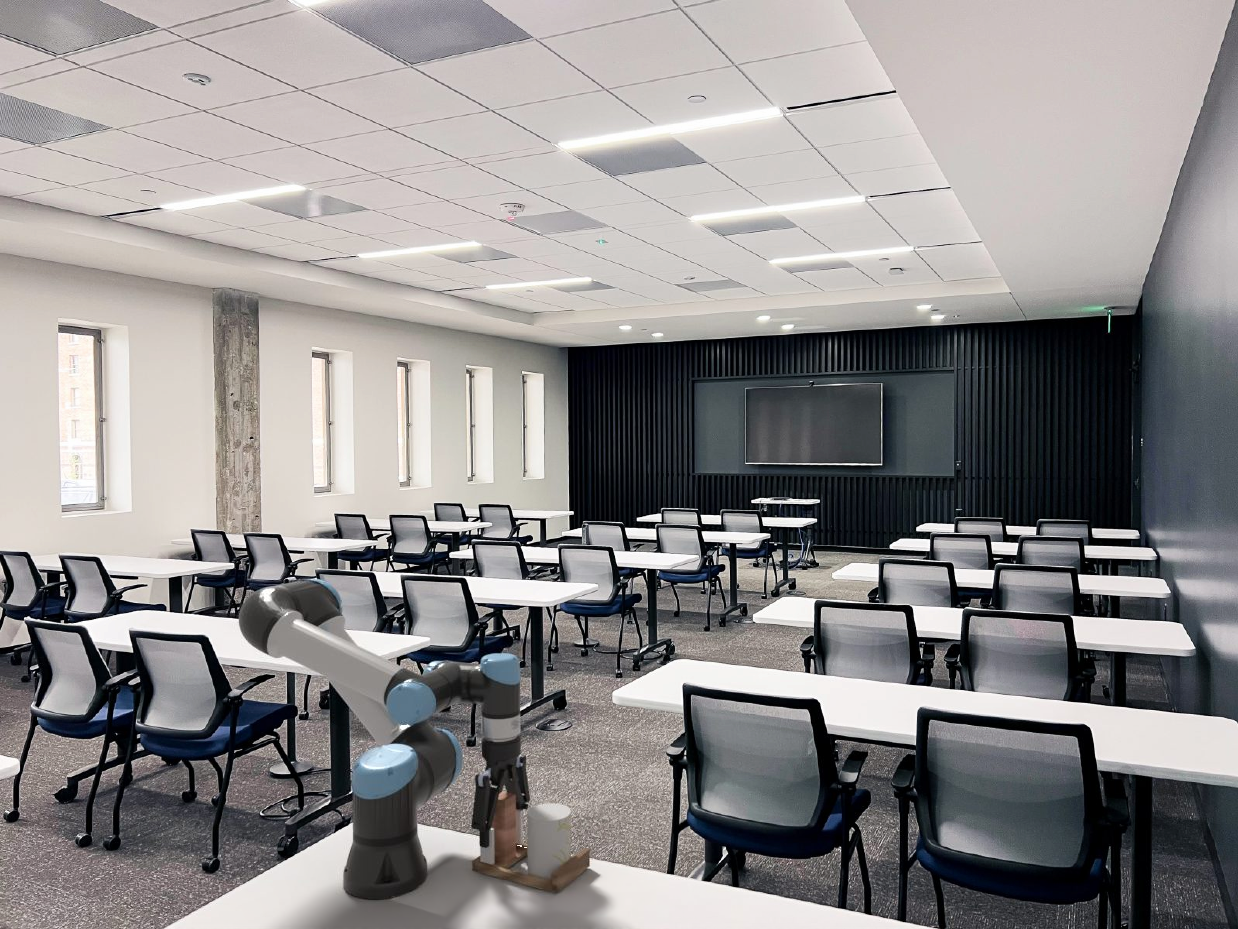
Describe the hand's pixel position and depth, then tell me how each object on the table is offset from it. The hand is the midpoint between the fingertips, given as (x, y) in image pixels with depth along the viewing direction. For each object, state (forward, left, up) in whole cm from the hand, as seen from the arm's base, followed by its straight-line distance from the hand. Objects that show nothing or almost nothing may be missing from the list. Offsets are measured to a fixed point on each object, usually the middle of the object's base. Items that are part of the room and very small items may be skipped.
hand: (502, 852), depth 173 cm
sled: (+7, 0, -2) cm, 7 cm away
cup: (+11, 0, -2) cm, 11 cm away
